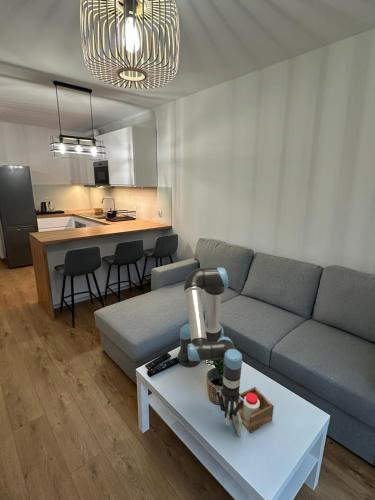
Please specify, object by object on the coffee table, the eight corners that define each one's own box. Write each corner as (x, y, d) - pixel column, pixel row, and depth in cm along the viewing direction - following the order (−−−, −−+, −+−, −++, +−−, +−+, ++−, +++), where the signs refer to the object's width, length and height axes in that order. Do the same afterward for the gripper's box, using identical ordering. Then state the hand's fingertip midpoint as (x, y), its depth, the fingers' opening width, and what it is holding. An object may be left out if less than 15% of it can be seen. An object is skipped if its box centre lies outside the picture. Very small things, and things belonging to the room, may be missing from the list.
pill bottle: (246, 405, 133) (248, 388, 130) (261, 414, 128) (262, 396, 125) (239, 416, 127) (240, 398, 124) (254, 425, 123) (255, 407, 119)
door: (227, 411, 131) (228, 397, 128) (232, 410, 131) (233, 396, 129) (235, 436, 118) (236, 421, 116) (240, 436, 118) (241, 421, 116)
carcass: (233, 411, 131) (233, 396, 129) (253, 400, 137) (255, 386, 134) (250, 433, 120) (251, 417, 117) (272, 420, 126) (273, 405, 123)
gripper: (214, 384, 115) (212, 424, 122) (243, 394, 110) (239, 435, 117) (219, 372, 121) (217, 411, 128) (247, 381, 117) (243, 421, 124)
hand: (227, 423), depth 123 cm, fingers closed
